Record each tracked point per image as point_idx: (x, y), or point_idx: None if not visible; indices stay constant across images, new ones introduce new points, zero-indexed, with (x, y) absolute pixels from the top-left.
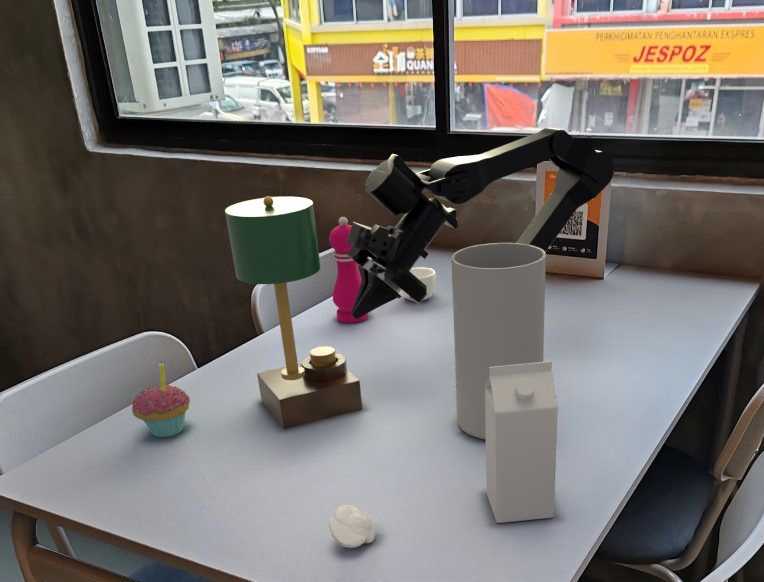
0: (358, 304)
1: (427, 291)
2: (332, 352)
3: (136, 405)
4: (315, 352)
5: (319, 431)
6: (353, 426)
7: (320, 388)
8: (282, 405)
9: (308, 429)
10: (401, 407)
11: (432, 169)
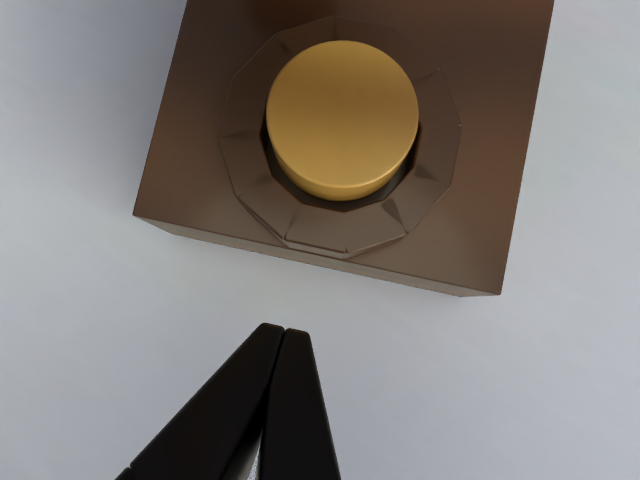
0: (219, 400)
1: None
2: (274, 140)
3: None
4: (352, 71)
5: (142, 23)
6: (83, 130)
7: (193, 35)
8: None
9: (184, 4)
10: (76, 357)
11: None
